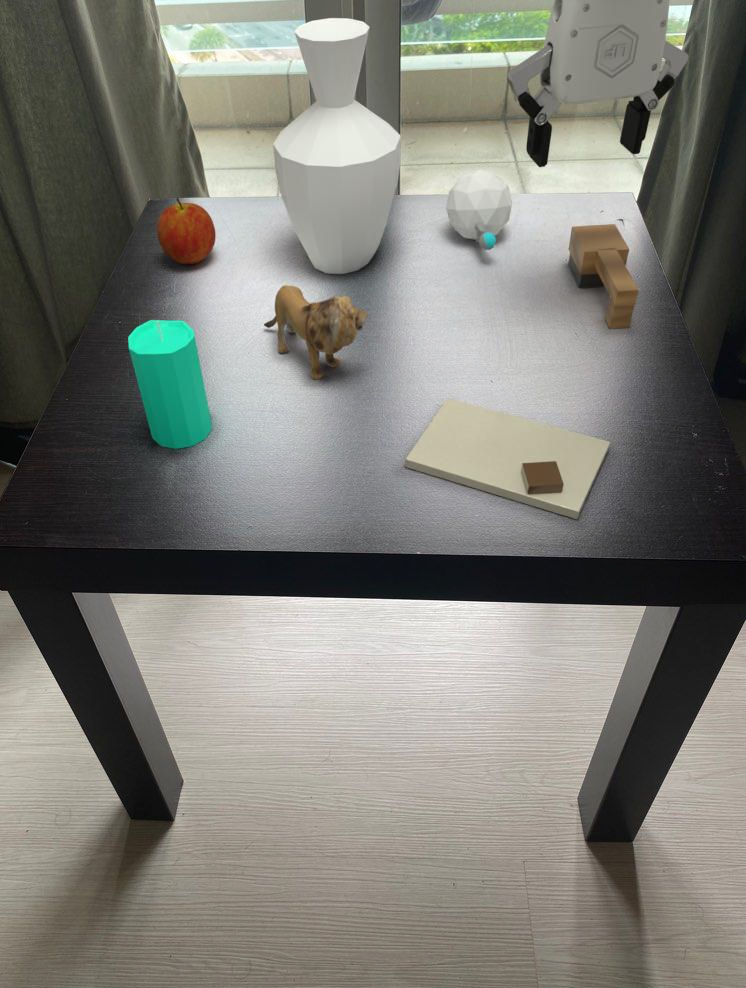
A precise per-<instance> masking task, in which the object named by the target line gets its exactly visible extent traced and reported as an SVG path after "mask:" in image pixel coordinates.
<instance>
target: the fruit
mask: <svg viewBox="0 0 746 988" xmlns="http://www.w3.org/2000/svg"><path fill="white" fill-rule="evenodd" d="M176 202H177V203H176V204H172V205H170V206H168V207H167V208H165V209H164V210H163V211H162V212H161V214H160V216H159V218H158V221H157V226H156V227H157V228H156V231H157V232H156V233H157V240H158V243H159V246H160V248H161V249H162V251H163V252H164V254H166V255H167V257H169V258H170V259H172V260H173V261H174V262H176V263H178V264H182V265H193V264H194V265H195V264H198V263H200V262H201V261H203V260H204V259H205V258H206V257H208V255H210V253H211V252H212V250H213V249H214V246H215V243H216V227H215V224H214V222H213V221H214V220H213V219H212V217H211V215H210V214H209V212H208V211H207V210H206V209H205V208H204V207H202V206H201V205H199V204H197V203H193V202H192V203H191V202H181V200H180V199H179V197H177V198H176Z"/></svg>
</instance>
